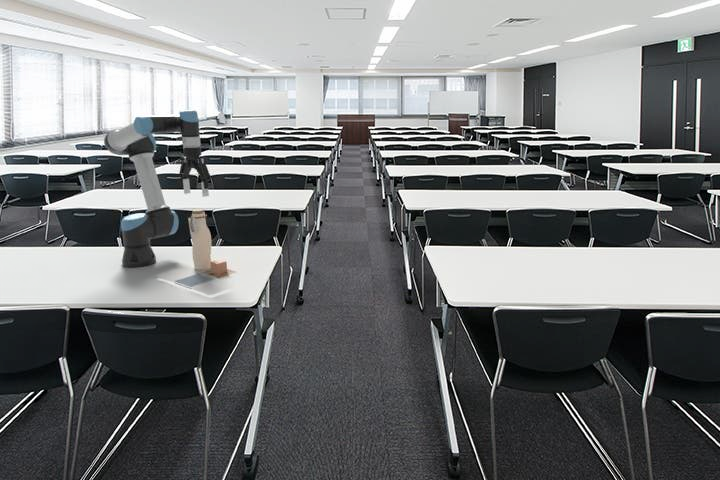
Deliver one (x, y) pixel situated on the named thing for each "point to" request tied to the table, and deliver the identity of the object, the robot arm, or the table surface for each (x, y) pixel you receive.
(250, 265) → the table surface
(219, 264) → the terracotta block
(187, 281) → the slate mat
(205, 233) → the water bottle
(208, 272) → the walnut mat
